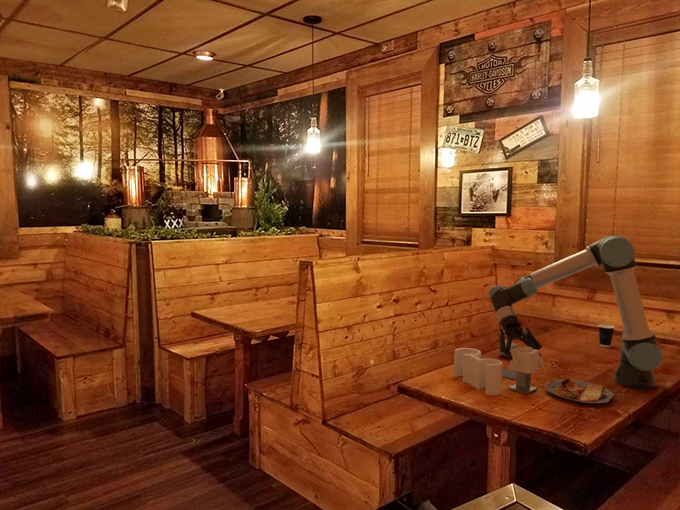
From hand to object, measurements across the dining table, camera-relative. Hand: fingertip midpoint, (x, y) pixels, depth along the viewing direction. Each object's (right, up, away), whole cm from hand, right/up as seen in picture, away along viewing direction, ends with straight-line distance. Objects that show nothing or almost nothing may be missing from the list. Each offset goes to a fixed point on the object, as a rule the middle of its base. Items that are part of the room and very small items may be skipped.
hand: (528, 366), depth 206 cm
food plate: (+20, -12, 0) cm, 23 cm away
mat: (-1, -8, +23) cm, 24 cm away
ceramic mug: (+9, -6, +50) cm, 52 cm away
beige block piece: (-1, -2, +3) cm, 4 cm away
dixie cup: (+68, -5, +75) cm, 101 cm away
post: (-1, -10, +4) cm, 11 cm away
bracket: (-18, -10, +9) cm, 22 cm away
